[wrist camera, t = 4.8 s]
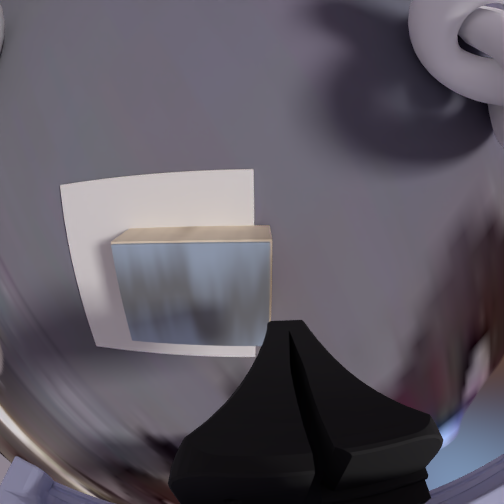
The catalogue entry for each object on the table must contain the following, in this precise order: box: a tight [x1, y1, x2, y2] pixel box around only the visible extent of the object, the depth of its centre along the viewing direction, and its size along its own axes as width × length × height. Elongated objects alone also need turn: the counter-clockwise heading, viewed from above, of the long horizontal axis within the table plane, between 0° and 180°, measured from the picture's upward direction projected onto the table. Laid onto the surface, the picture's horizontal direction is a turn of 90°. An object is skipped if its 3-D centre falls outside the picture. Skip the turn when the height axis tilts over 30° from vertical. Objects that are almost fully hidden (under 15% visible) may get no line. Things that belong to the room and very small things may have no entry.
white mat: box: [60, 169, 255, 357], centre depth 17 cm, size 12×12×1 cm
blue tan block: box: [111, 225, 272, 346], centre depth 15 cm, size 6×3×8 cm
